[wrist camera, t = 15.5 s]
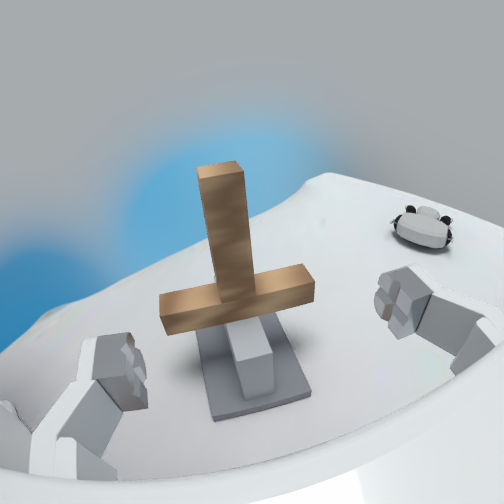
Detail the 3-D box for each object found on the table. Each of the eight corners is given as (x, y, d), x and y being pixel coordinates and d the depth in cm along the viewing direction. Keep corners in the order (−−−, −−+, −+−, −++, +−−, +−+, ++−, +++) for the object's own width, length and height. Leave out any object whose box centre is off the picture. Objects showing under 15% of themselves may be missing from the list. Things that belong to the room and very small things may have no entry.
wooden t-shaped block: (167, 335, 26) (120, 196, 18) (166, 313, 28) (126, 182, 21) (313, 301, 28) (318, 161, 20) (302, 283, 30) (301, 151, 23)
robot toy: (402, 216, 60) (385, 242, 50) (405, 197, 57) (389, 219, 47) (452, 231, 53) (447, 262, 43) (456, 212, 51) (454, 238, 41)
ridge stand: (214, 421, 26) (195, 380, 21) (196, 325, 37) (182, 277, 33) (310, 396, 27) (317, 349, 23) (270, 308, 39) (267, 258, 35)
